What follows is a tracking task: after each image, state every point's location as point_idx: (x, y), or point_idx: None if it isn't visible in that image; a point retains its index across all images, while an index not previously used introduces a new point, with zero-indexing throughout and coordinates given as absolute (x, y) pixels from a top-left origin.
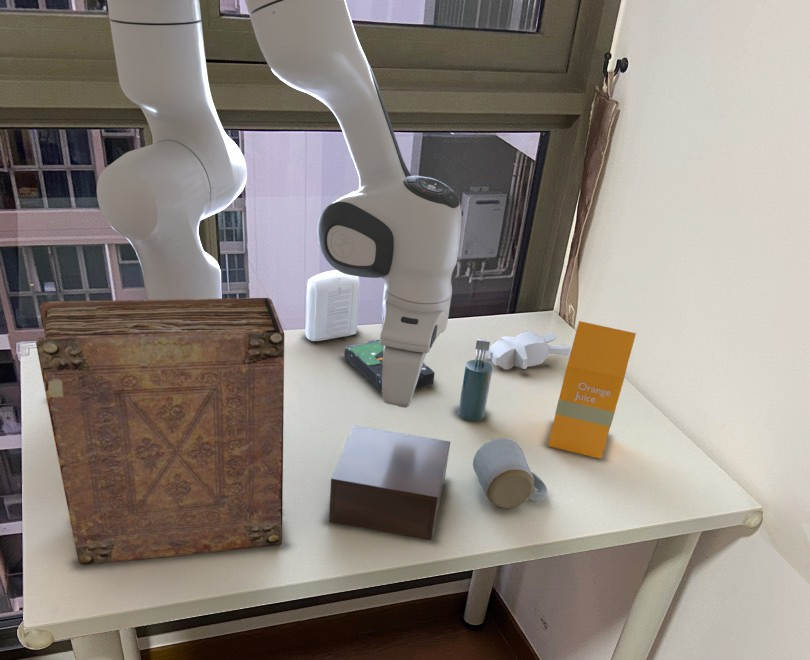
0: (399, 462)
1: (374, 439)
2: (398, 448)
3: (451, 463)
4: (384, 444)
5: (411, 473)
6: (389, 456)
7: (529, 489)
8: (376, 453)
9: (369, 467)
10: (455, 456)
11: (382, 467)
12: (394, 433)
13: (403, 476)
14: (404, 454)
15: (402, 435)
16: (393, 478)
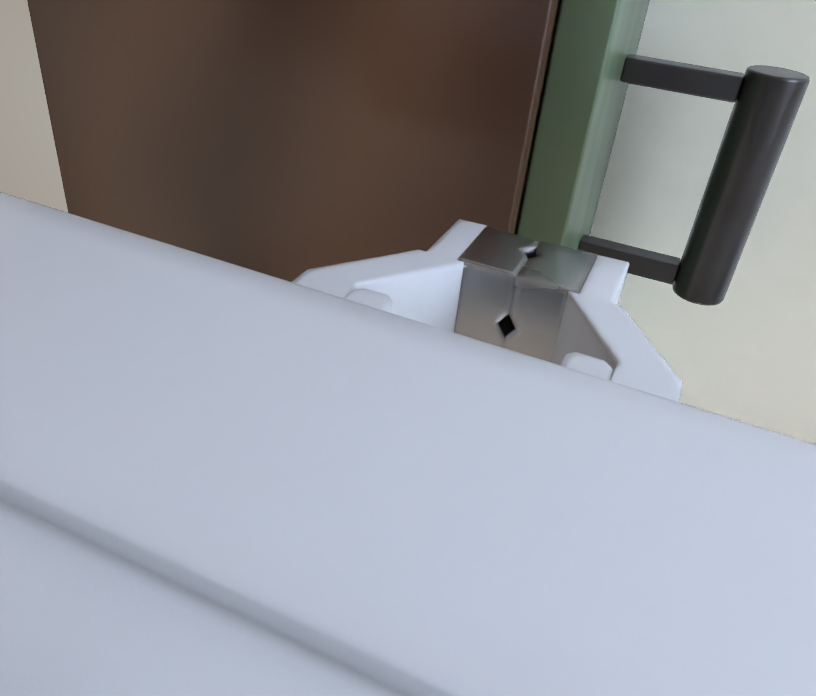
0: (238, 170)
1: (411, 21)
2: (352, 173)
3: (686, 378)
4: (369, 90)
5: (180, 220)
6: (269, 119)
7: None
8: (276, 41)
9: (147, 5)
10: (747, 406)
11: (171, 80)
12: (503, 157)
13: (146, 182)
14: (305, 201)
15: (488, 206)
16: (116, 135)
